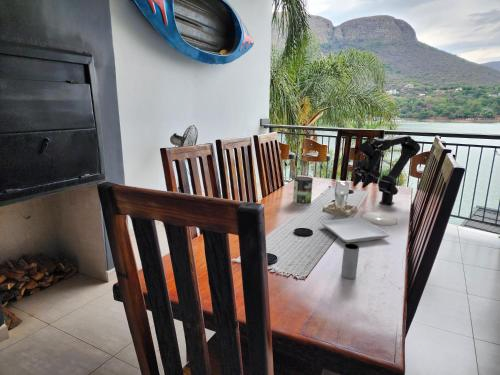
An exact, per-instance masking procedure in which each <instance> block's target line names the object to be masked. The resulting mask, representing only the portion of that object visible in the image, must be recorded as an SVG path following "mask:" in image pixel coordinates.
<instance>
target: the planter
mask: <svg viewBox="0 0 500 375" xmlns="http://www.w3.org/2000/svg"><path fill="white" fill-rule="evenodd" d="M359 253H360V246H359V245H358V244H356V243H354V242H351V243H347V242H345V244H344V245H343V253H342V264H341V272H340V274H341V277H343V278H345V279H347V280H353V279H356V278H357V272H358V261H359Z"/></svg>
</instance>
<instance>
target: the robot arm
mask: <svg viewBox="0 0 500 375" xmlns="http://www.w3.org/2000/svg"><path fill="white" fill-rule="evenodd" d="M398 145H400V147H401V154H400V156H399V157H398V159H397V161H396V162H395V164H394V165H393V167H392V168H391V170H390V171H389V172H388V174H386V175H385V174H383V175H382V176H381V172H379V171H378V170H377V169H376V168H378V166H379V165H378V163H379V161H380V159H381V158H385V155H384V152H385V151H388V150H390V149H391V147H393V146H398ZM358 151H359V152H360V153H361V154H363V155H364V156H365V157H366V159H363V158H362V159H360V160H353V162H352V167H354V168H353V169H352V170H351V172H352V174H353V176H354V178H353V184H352V187H355V188H356V186H357V185H358V184H359V183H360V182H361V181H362V180H363V179H364V181H363V182H362V185H361V188H362V189H365V188H366V187H368V185H370V184H371V183H373V182H374V181H375V180H377V179H378V184H377V187H378V191H379V192H380V193H382V194H381V200H380V201H379V202H378V203H379V204H382V205H387V206H393V204H395V202H394V201H393V200H394V196H396V195H398V192H399V190H398V188H397V187H396V186H397V179H398V177H399V176H400V174H401V173H402V171H403V170H404V169H405V167H406V166H407V165H408V162H409V161H410V159H412V158H413V157H415V156H417V154H418V153H419V152H420V151H421V146H420V144H419V143H418V141H416V140H415V139H413V138H412V137H411V136H410V135H408V134H407V135H406V134H402V135H398V136H394V137H390V138H376V139H374V140H373V141H370V140H365V141H364V142H362V143H361V144H360V145H359V146H358ZM383 151H384V152H383ZM364 177H365V178H364ZM379 178H380V179H379Z"/></svg>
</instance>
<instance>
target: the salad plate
mask: <svg viewBox="0 0 500 375" xmlns="http://www.w3.org/2000/svg"><path fill="white" fill-rule="evenodd" d="M320 224H321V225H322V226H323V227H324V228H325V229H327V230H328V231H330V232H331V233H332V234H334V235H335V236H336V237H338V238H339V239H340V240H341V241H343V242H344V243H357V242H367V241H374V240H382V239H386V238H388V237H390V236H391V234H390V233H389V232H387V231H385V230H384V229H382V228H380V227H378V226H377V225H376V224H373V223H370V222H368V221H367V220H365V219H363V218H362V216H361V217H360V216H357V217H348V218H345V217H344V218H339V219H338V218H337V219H329V220H327V219H326V220H321V221H320Z"/></svg>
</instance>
